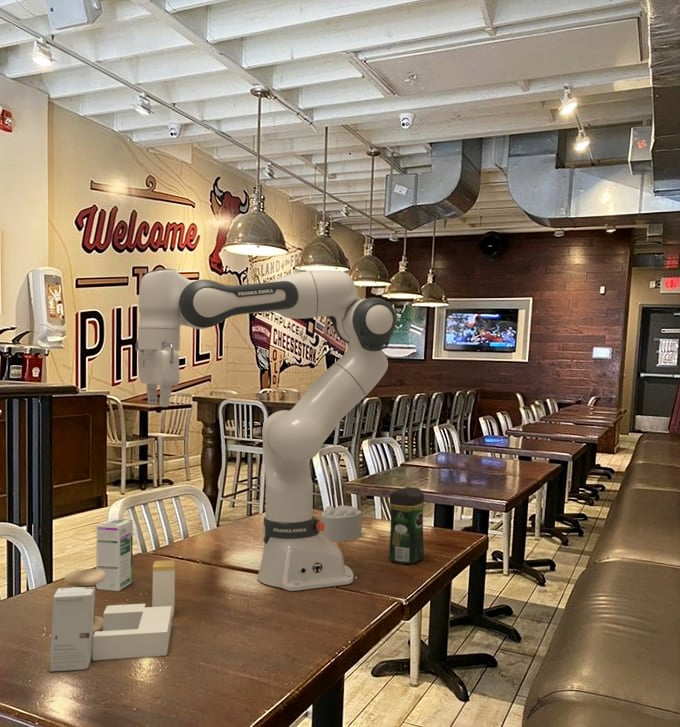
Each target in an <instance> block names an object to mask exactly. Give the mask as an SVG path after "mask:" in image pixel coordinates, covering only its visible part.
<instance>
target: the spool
mask: <svg viewBox="0 0 680 727" xmlns="http://www.w3.org/2000/svg"><path fill="white" fill-rule="evenodd" d="M104 579H105V572H104V571H102V570H99V569H96V568H84V569H77V570H73V571H71V572H69V573H67V574H66V575H64V584H65V585H66V586H69V587H95V588H96V584H98V583H100V582H102V581H104ZM95 607H96V598H95V599H94V621H93V635H94V633H95V632H98V631H103V616H102V617H101V616H99V615H95V611H96V610H95V609H96V608H95Z"/></svg>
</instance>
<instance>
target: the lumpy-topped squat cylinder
mask: <svg viewBox="0 0 680 727" xmlns="http://www.w3.org/2000/svg"><path fill="white" fill-rule="evenodd" d="M362 514H363V512H362V511H361V510H360V509H357V508H356V507H355V506H350V505H345V504H344V505H343V504H342V505H338V506H337V507H334V506H332V505H327V506H326V507H325V509H324V510H323V511H322V512H321V514H320V521H321V522H323V523H324V525H325V529H323V530H324V531H322V532H320V533H321V534H323V535H324V536H325V537H326V538H328V539H329V540H330V541H331V542H340V543H345V542H344V541H349V542H352V541H351V540H353V539H356V540H357V538H358V539H360V538H362V533H363V532H362V528H363V527H362V520H363V515H362ZM359 537H360V538H359ZM353 541H354V540H353Z"/></svg>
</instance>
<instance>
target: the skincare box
mask: <svg viewBox="0 0 680 727" xmlns="http://www.w3.org/2000/svg"><path fill="white" fill-rule="evenodd" d="M94 599H95V600H96V586H95V587H75V586H72V587H60V588H57V589H56V591H55V593H54V595H53V598H52V615H51V637H50V659H49V662H50V663H49V672H61V671H63V672H66V671H78V670H88V669H89V666H90V663H91V662H92V659H93V636H94V634H93V621H94Z"/></svg>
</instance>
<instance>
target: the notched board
mask: <svg viewBox="0 0 680 727" xmlns="http://www.w3.org/2000/svg"><path fill="white" fill-rule="evenodd" d="M102 615H103V616H102V618H103V629H102V630H100V631H98V632H95V633H94V634H93V644H92V661H103V660H104V661H105V660H117V659H118V660H121V659H132V658H133V659H134V658H148V657H163V656H164V657H165V656H167V655H168V650H169V645H170V644H169V643H170V638H171V632H172V631H171V630H172V620H173V619H172V618H173V617H172V606H163V607H152V606H150V607H149V606H147V607H146V603H132V604H130V603H129V604H114V605H113V604H111V605H106V607H105V609H104V612H103V614H102Z"/></svg>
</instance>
